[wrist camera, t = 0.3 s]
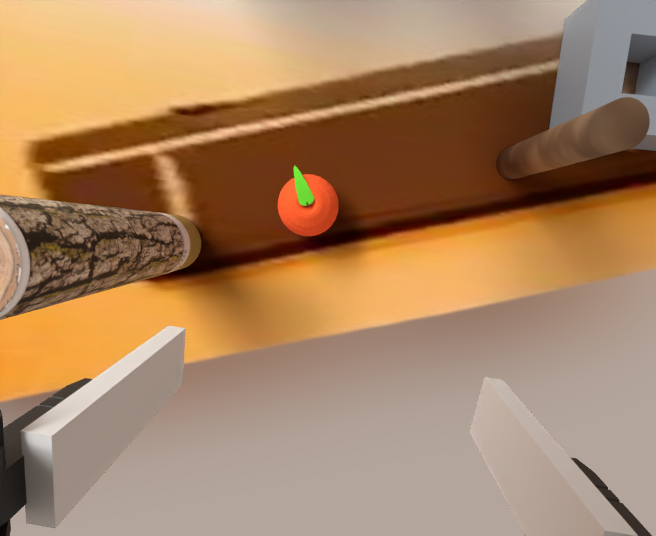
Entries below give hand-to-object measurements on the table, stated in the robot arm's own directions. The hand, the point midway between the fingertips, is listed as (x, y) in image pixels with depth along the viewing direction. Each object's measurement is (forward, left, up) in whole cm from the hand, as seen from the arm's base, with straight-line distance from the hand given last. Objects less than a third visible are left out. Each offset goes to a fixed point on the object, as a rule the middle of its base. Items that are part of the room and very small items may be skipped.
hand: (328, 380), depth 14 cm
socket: (-27, +33, -28) cm, 51 cm away
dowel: (-17, +22, -28) cm, 39 cm away
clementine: (-10, -3, -28) cm, 30 cm away
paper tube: (-4, -19, -28) cm, 34 cm away
